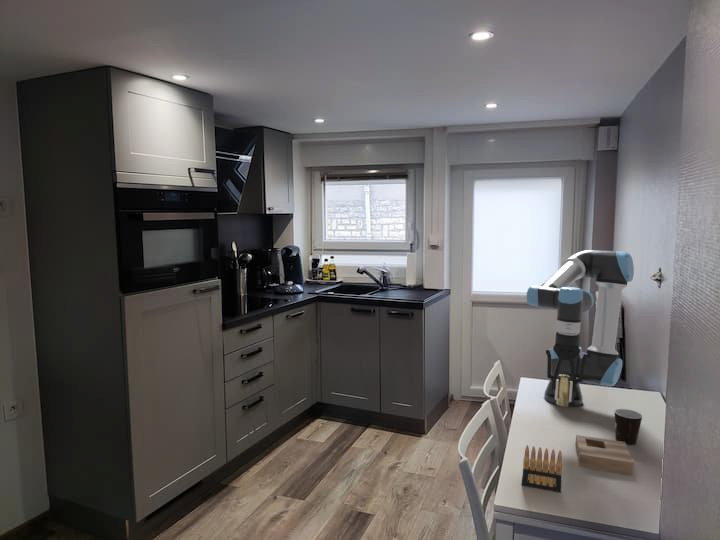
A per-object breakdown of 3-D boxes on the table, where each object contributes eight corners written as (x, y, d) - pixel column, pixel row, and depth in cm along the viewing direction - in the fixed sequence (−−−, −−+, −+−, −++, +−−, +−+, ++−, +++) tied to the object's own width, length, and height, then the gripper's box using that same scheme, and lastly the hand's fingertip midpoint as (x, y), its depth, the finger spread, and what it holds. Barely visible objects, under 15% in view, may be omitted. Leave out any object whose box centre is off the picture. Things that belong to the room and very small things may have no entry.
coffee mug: (617, 433, 185) (619, 407, 184) (643, 441, 179) (645, 414, 178) (605, 443, 177) (607, 415, 175) (632, 451, 170) (634, 423, 169)
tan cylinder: (556, 401, 178) (558, 373, 177) (568, 403, 177) (570, 375, 176) (556, 405, 175) (558, 376, 174) (568, 407, 174) (570, 378, 173)
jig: (575, 446, 174) (576, 434, 173) (624, 453, 169) (625, 442, 169) (579, 466, 160) (580, 454, 159) (632, 475, 155) (633, 462, 155)
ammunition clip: (521, 485, 148) (523, 445, 146) (521, 482, 149) (524, 443, 148) (561, 492, 144) (564, 452, 143) (560, 489, 146) (563, 449, 145)
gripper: (541, 332, 173) (536, 399, 175) (595, 338, 167) (590, 407, 169) (541, 328, 180) (537, 392, 182) (594, 333, 174) (588, 399, 176)
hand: (562, 399), depth 176 cm, fingers closed on tan cylinder, 4 cm apart
